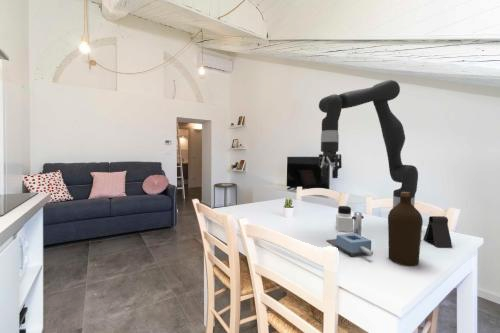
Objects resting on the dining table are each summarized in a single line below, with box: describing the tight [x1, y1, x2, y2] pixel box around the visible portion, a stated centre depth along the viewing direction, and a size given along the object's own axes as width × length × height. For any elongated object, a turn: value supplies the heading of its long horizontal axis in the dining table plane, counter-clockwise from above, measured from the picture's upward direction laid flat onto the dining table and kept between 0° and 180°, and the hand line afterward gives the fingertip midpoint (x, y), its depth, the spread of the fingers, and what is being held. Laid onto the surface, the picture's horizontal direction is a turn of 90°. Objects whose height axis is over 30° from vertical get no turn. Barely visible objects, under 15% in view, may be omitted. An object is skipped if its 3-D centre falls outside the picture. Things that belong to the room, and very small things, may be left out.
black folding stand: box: [422, 215, 453, 249], centre depth 106 cm, size 9×6×12 cm, turn 177°
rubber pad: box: [326, 238, 337, 248], centre depth 106 cm, size 7×7×1 cm
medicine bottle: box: [335, 205, 354, 233], centre depth 126 cm, size 7×7×12 cm
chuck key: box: [352, 211, 364, 236], centre depth 108 cm, size 5×3×13 cm, turn 106°
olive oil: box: [387, 192, 424, 267], centre depth 89 cm, size 11×11×25 cm
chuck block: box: [336, 232, 374, 258], centre depth 95 cm, size 9×14×6 cm, turn 16°
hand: (329, 177), depth 111 cm, fingers open, 8 cm apart
